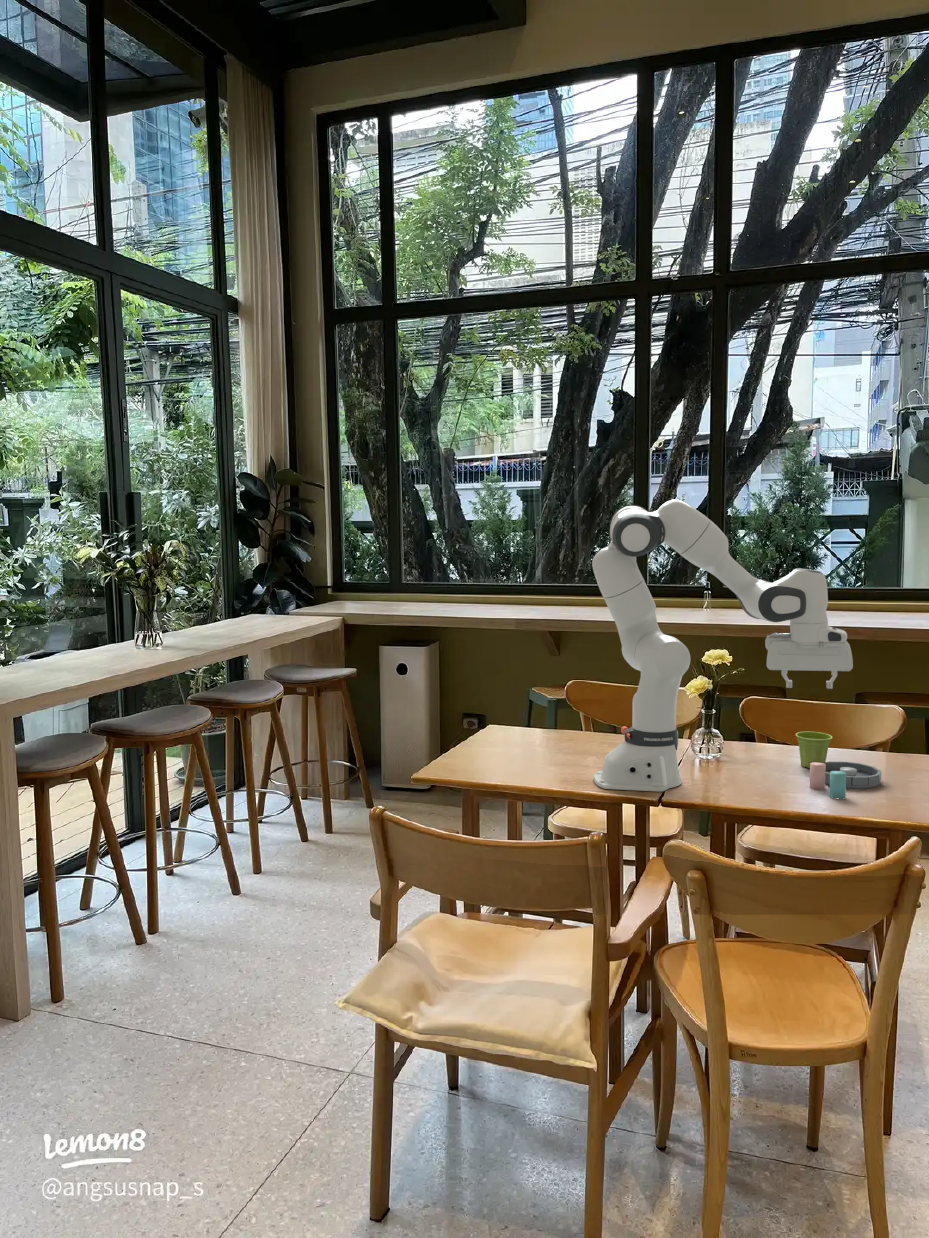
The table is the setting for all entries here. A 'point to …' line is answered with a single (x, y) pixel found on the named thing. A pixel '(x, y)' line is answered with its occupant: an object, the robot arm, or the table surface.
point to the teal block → (837, 784)
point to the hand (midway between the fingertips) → (809, 687)
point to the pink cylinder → (817, 775)
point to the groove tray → (860, 779)
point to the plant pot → (813, 747)
